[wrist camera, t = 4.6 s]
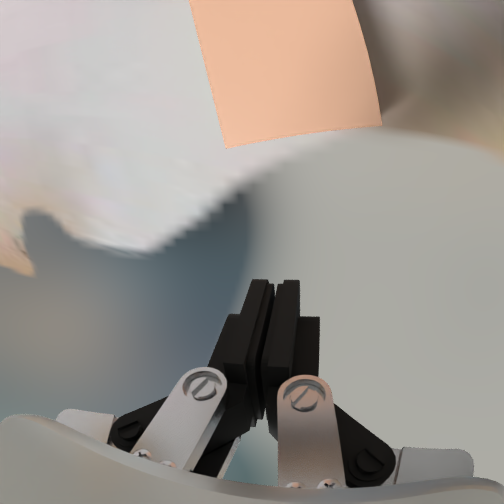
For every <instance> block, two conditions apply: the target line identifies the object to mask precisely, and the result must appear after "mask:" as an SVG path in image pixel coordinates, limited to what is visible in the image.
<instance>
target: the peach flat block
mask: <svg viewBox="0 0 504 504" xmlns="http://www.w3.org/2000/svg"><path fill="white" fill-rule="evenodd" d="M189 3H190V7H191V11H192V15H193V19H194V23H195V27H196V31H197V35H198V39H199V43H200V47H201V51H202V55H203V59H204V63H205V67H206V71H207V75H208V79H209V83H210V87H211V91H212V95H213V99H214V103H215V107H216V111H217V115H218V119H219V123H220V127H221V131H222V135H223V139H224V143H225V147H226V149H227V148H232V147H236V146H241V145H246V144H251V143H256V142H261V141H266V140H272V139H278V138H283V137H290V136H296V135H302V134H309V133H316V132H324V131H332V130H341V129H350V128H360V127H372V126H382V120H381V114H380V108H379V102H378V97H377V92H376V87H375V82H374V77H373V73H372V68H371V64H370V60H369V56H368V52H367V48H366V44H365V41H364V37H363V33H362V30H361V27H360V23H359V20H358V17H357V14H356V11H355V8H354V5H353V2H352V0H189Z"/></svg>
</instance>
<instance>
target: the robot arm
mask: <svg viewBox="0 0 504 504" xmlns="http://www.w3.org/2000/svg"><path fill="white" fill-rule="evenodd" d="M319 337H320V317H303V316H302V317H301V316H300V281H299V280H284V283H283V284H278V286H277V291H276V295H275V290H274V284H269V282H268V280H263V279H260V280H259V279H253V280H252V282H251V284H250V287H249V290H248V293H247V296H246V299H245V302H244V304H243V307H242V310H241V313H240V314H229V315H228V317H227V319H226V322H225V324H224V327H223V329H222V332H221V334H220V337H219V339H218V342H217V344H216V346H215V349H214V352H213V354H212V356H211V359H210V361H209V364H208V366H207V367H200V368H196V369H193V370H190V371H189V372H187V373H185V374H184V375H183V377H182V378H181V379H180V380H179V382H178V383H177V384H176V386H175V387H174V389H173V390H172V392H171V393H170V395H169V396H167V397H165V398H163V399H161V400H158V401H156V402H154V403H151V404H149V405H147V406H144V407H142V408H139V409H137V410H135V411H132V412H130V413H128V414H125V415H123V416H121V417H119V418H117V417H116V416H115V415H112V414H103V413H96V412H89V411H83V410H77V409H67V410H64V411H62V412H61V413H60V414H59V415H58V416H57V418H56V419H55V420H52V419H49V418H46V417H43V416H38V415H32V414H16V415H11V416H9V417H7V418H5V419H4V420H3V421H2V422H1V423H0V504H504V486H503V485H502V484H500V483H498V482H496V481H493V480H490V479H486V478H479V477H473V472H474V464H473V459H472V457H471V455H470V454H469V453H468V452H466V451H465V450H460V449H427V448H411V447H403V448H402V449H394V448H390V447H389V446H388V445H387V444H386V443H385V442H383V441H382V440H380V439H379V438H378V437H376V436H375V435H374V434H373V433H371V432H370V431H369V430H367V429H366V428H365V427H364V426H362V425H361V424H360V423H358V422H357V421H356V420H354V419H353V418H352V417H350V416H349V415H348V414H347V413H345V412H344V411H343V410H342V409H341V408H339V407H338V406H337V405H335V404H334V403H333V398H332V392H331V389H330V387H329V385H328V384H327V383H326V382H325V381H324V380H322V379H320V378H319V377H318V371H319ZM265 408H266V416H267V420H268V426H269V433H270V434H271V435H272V436H273V437H274V438H275V439H276V440H277V441H278V487H275V486H274V487H273V486H264V485H256V484H249V483H242V482H235V481H230V480H224V479H222V478H223V476H224V474H225V472H226V470H227V468H228V466H229V464H230V461H231V459H232V457H233V455H234V453H235V451H236V449H237V447H238V444H239V442H240V439H241V435H242V434H244V433H246V432H247V431H249V430H250V427H256V423H257V419H261V420H262V419H263V416H264V411H265Z"/></svg>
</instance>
